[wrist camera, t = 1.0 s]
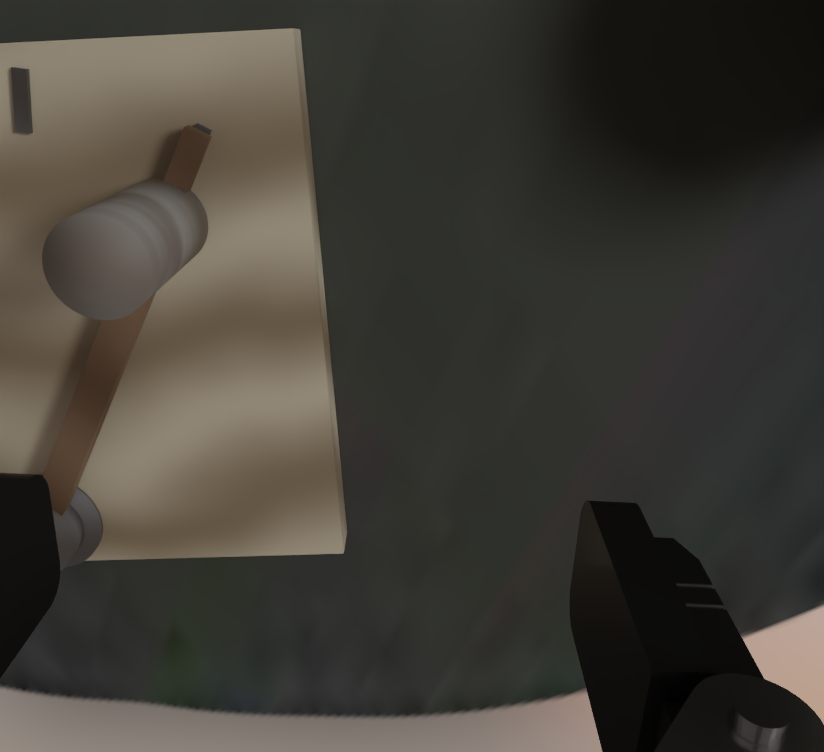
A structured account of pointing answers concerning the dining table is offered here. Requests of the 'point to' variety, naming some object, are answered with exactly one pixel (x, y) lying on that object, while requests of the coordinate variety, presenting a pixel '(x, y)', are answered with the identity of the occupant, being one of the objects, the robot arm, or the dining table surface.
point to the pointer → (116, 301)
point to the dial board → (176, 296)
